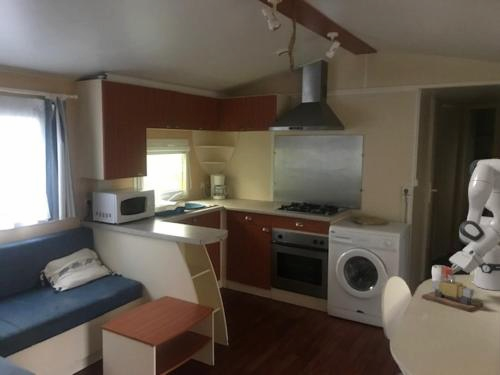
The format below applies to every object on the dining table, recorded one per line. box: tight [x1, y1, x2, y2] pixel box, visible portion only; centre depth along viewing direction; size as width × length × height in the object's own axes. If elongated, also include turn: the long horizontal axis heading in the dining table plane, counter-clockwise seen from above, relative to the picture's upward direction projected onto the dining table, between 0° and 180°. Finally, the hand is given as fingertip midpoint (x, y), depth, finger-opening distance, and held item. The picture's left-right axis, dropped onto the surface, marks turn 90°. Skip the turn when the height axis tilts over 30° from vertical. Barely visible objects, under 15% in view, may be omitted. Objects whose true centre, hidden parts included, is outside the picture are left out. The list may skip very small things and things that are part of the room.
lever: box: [441, 265, 456, 283], centre depth 203 cm, size 13×3×5 cm, turn 173°
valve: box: [432, 279, 474, 305], centre depth 198 cm, size 6×18×8 cm, turn 38°
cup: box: [431, 264, 450, 282], centre depth 220 cm, size 9×9×12 cm
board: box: [421, 290, 484, 313], centre depth 199 cm, size 14×23×2 cm, turn 38°
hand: (450, 272), depth 206 cm, fingers closed, pressing on lever
